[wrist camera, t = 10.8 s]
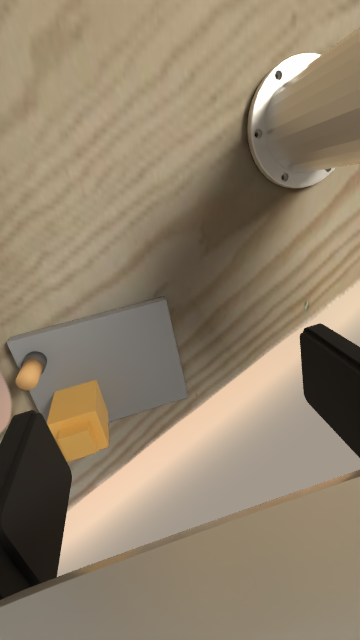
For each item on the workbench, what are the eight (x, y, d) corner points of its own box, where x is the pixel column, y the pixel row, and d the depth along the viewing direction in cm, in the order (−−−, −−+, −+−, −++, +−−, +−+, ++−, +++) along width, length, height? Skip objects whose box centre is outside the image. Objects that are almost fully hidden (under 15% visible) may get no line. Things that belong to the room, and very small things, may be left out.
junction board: (163, 296, 37) (174, 311, 32) (185, 390, 43) (197, 417, 37) (10, 337, 35) (-7, 361, 29) (53, 432, 40) (46, 467, 35)
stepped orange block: (96, 379, 37) (95, 418, 30) (108, 412, 39) (109, 456, 32) (54, 391, 37) (43, 435, 30) (68, 424, 39) (61, 472, 32)
